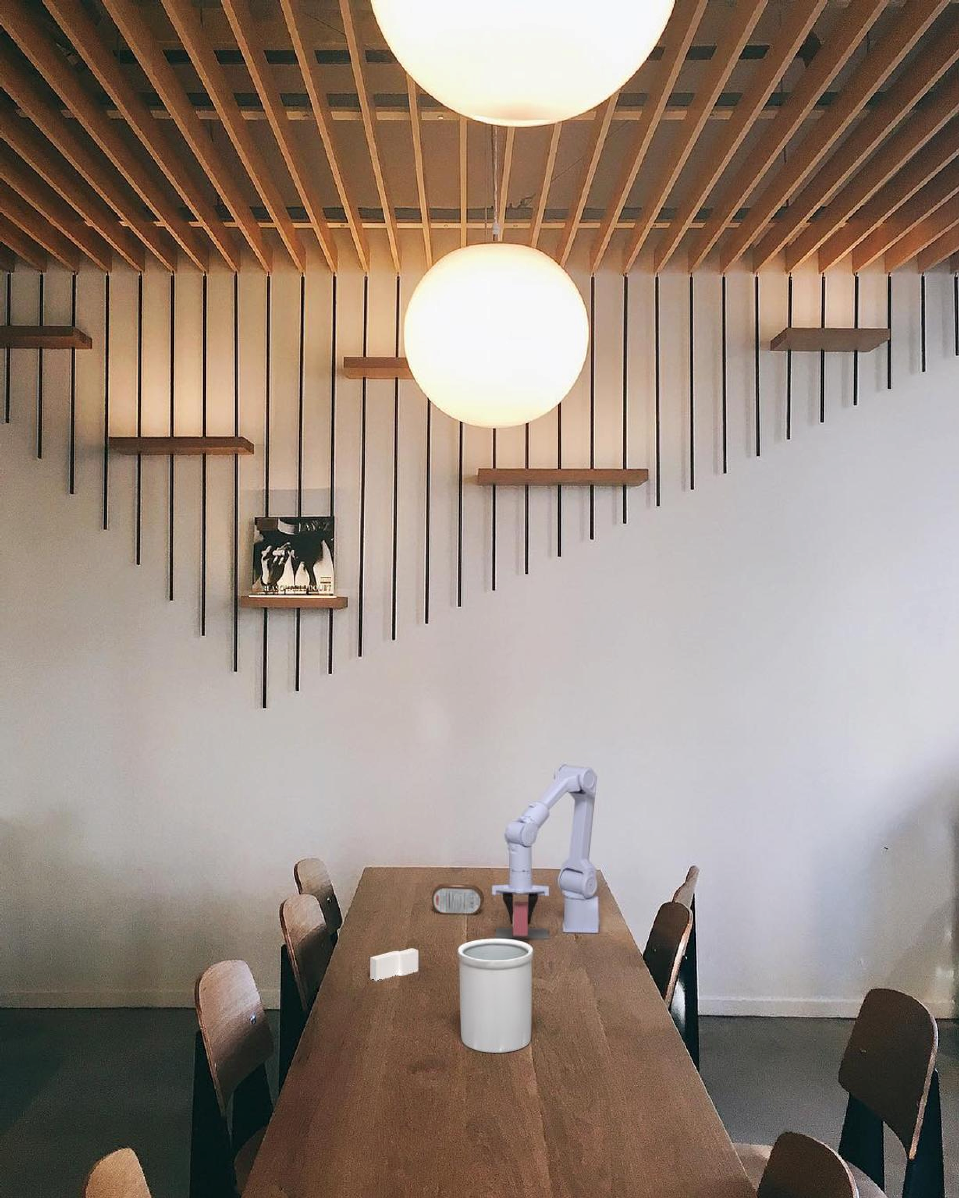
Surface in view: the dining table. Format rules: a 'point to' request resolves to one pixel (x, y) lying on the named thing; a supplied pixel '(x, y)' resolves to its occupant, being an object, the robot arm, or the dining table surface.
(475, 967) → the utensil holder
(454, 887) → the tin
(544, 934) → the mat
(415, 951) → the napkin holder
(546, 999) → the dining table surface
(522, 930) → the box
